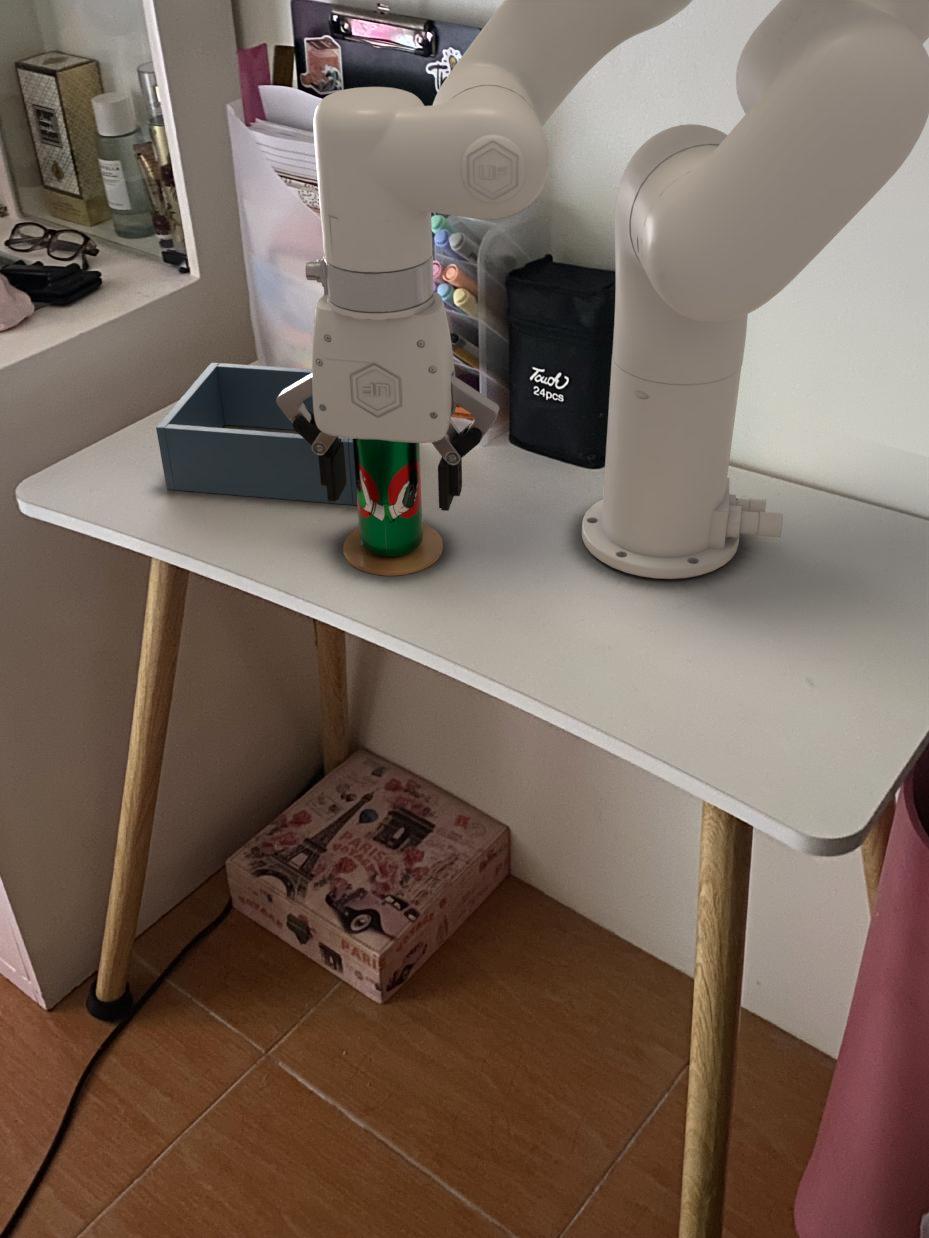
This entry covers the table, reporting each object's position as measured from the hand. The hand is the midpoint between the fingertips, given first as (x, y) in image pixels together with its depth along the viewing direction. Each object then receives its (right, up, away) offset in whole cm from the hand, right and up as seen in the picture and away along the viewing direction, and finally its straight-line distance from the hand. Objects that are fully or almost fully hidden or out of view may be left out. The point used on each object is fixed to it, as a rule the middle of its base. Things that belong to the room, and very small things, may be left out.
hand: (392, 496), depth 96 cm
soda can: (0, -4, +3) cm, 5 cm away
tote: (-11, +5, +15) cm, 19 cm away
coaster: (0, -4, +3) cm, 5 cm away
